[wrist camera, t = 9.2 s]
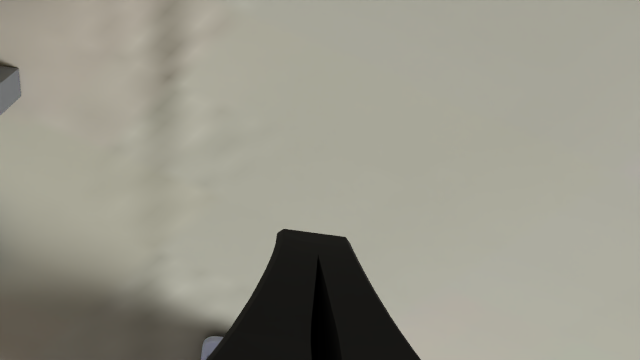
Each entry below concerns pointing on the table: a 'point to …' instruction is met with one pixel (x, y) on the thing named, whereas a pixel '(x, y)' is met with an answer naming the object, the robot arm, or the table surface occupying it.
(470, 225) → the table surface
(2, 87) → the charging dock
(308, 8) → the table surface
